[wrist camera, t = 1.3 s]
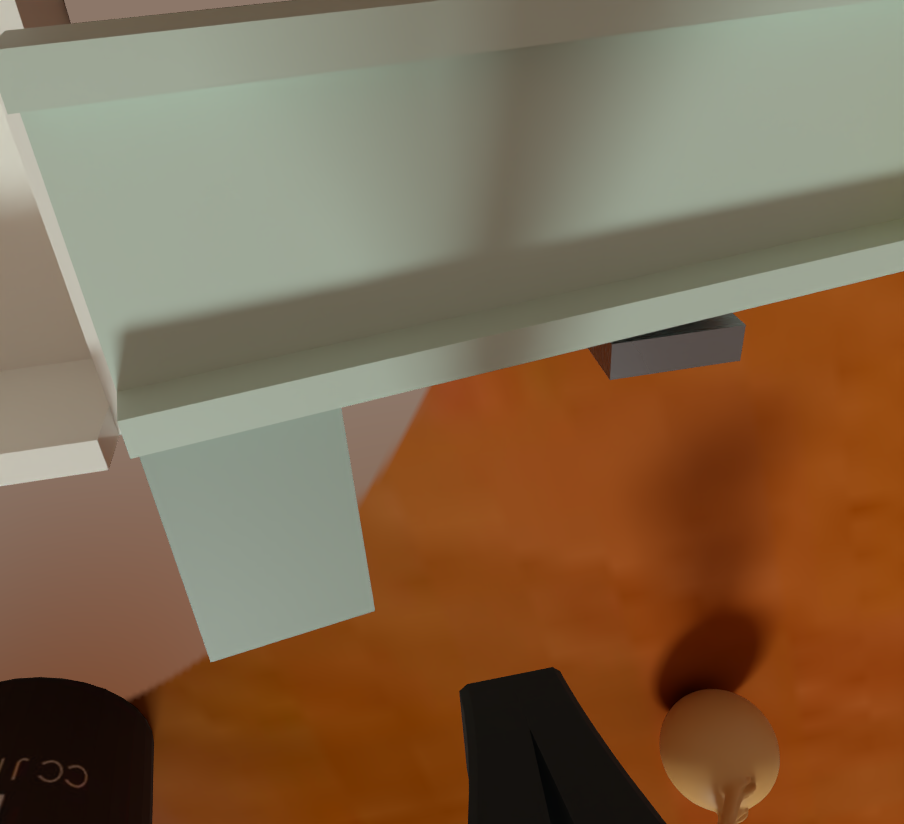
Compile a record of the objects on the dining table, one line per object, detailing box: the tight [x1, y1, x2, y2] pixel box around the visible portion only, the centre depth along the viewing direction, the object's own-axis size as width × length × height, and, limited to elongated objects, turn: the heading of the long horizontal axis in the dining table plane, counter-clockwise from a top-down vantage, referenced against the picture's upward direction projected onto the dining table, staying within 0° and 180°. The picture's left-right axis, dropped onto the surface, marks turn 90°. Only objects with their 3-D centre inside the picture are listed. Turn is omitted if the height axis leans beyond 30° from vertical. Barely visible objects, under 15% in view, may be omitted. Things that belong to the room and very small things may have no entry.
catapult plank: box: [0, 0, 904, 662], centre depth 13 cm, size 18×10×2 cm, turn 93°
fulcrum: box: [588, 313, 746, 380], centre depth 14 cm, size 5×8×6 cm, turn 3°
